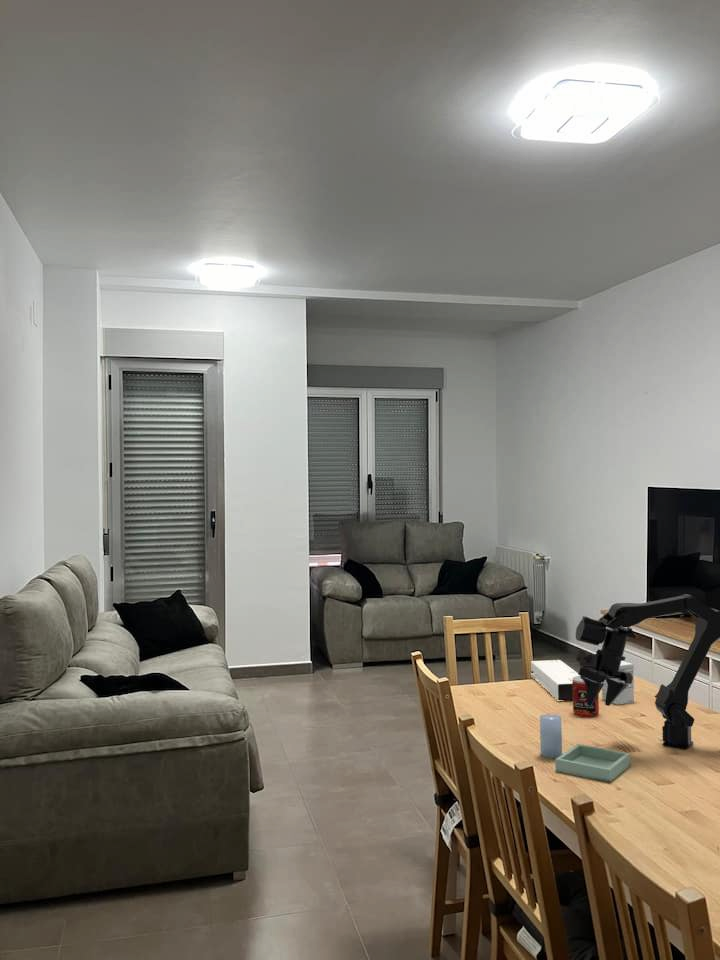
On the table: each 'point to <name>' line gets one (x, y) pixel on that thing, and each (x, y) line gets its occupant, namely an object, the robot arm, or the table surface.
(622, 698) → the supplement box
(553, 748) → the tall pale blue cylinder
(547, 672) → the laminator
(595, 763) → the tray
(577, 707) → the canned food
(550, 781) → the table surface
